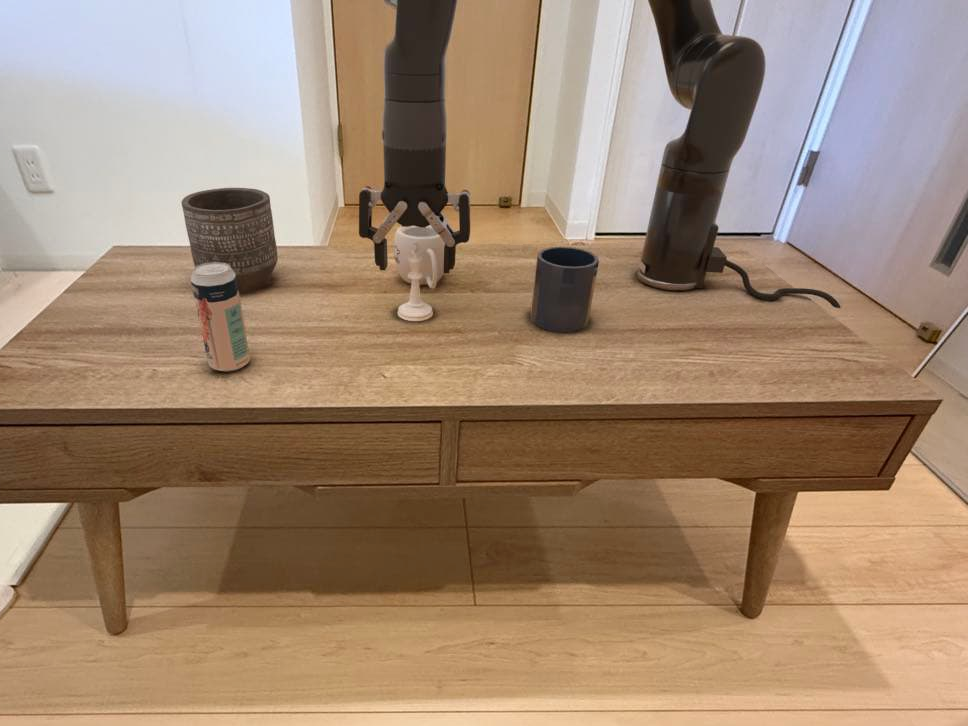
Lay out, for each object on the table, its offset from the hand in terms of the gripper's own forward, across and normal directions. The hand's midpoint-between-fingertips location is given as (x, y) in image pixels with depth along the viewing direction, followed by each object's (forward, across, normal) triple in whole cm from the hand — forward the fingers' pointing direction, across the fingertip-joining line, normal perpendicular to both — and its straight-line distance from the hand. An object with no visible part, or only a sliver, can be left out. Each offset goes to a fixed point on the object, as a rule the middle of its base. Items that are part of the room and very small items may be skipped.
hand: (414, 270), depth 82 cm
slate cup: (+6, -20, -1) cm, 21 cm away
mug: (+7, 0, -11) cm, 13 cm away
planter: (+7, +28, -7) cm, 30 cm away
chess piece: (+7, 0, 0) cm, 7 cm away
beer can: (+7, +20, +17) cm, 27 cm away
